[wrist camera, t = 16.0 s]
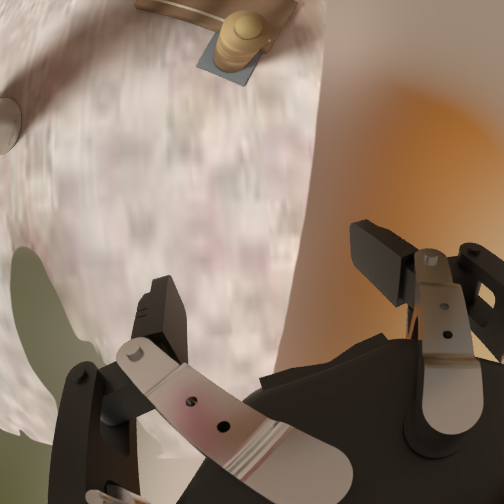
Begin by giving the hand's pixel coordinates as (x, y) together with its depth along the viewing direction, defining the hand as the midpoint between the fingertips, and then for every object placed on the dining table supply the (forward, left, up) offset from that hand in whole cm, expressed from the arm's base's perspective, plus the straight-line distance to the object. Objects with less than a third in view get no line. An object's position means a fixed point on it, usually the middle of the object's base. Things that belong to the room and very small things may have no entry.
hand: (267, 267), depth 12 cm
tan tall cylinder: (-5, +15, -28) cm, 32 cm away
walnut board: (-11, +23, -28) cm, 38 cm away
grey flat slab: (-5, +15, -28) cm, 32 cm away
